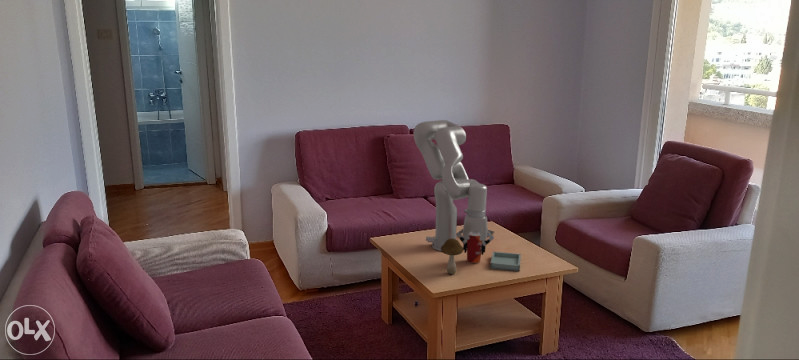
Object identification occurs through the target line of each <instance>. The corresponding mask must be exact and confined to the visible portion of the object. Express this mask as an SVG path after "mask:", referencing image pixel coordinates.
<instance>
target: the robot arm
mask: <svg viewBox="0 0 799 360" xmlns="http://www.w3.org/2000/svg"><path fill="white" fill-rule="evenodd" d="M413 139H414V143H415V145H416V148H418V150H419V151H420V154H421V155H422V157H423V160H424V162H425V165H426V168H427V170H428V172H429V175H430V176H431V178H432V180H437V181H438V182H437V183H435V185H434V188H433V192H434V194H433V195H434V200H435V233H434V234H435V235H434V236H426V237H425V241H426V242H427V243H431V247H432V249H433V250H435V251H440V252H442V251H441V246H442V245H444V243H445V242H446V241H447V240H448V239H451V238H453V239H456V240H457V238H458V239H459V240H460V242H461V243H462V244H463V245H462V247H463V249H464V250H463V252H464V254H467V239H470V238H469V233H470V232H472V233H473V232H476V233H477V232H479V233H480V235H481V236H480V239H479V240H480V241H482V243H483V244H482V251H481V256H482V255H484V253H486V246H487V245H488V244H489V243H490V242H492V241H493V240H494V239H495V238H494V235H493V234H491V233H490V232H489V231H488V230H489V229H488V228H489V227H488V217H487V215H486V212H487V211H486V210H487V209H486V208H487V196H488V195H487V194H488V187H487V185H485V184H483V183H480V182H479V181H477V180H476V179H473V178H470V179H469V176H468V174H467V171H466V169H465V167H464V164H463V163H462V161H463V159H464V155H463V152H462V150H461V148H460V146H461V145H463V144H465V142H466V140H467V134H466V131H465V130H464V128H462V126H460V125H459V124H456V123H454V122H453V121H450V120H445V119H442V120H440V119H439V120H428V121H423V122H420V123H419V122H418V123H417V124H416V125H415V126H414V129H413ZM432 140H435V142H436V143H435V142H433V141H432ZM439 180H440V181H439ZM466 198H467V208H465V209H464V210H463V212H464V213H466V215H465V217H464V220H463V227H462V229H460V230H459V231H457V227H458V226H457V222H458V209H457V206H456V205H455V203H454V201H456V200H462V199H466ZM477 234H478V233H477ZM487 235H488V237H487Z"/></svg>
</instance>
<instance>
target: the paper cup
mask: <svg viewBox="0 0 799 360" xmlns="http://www.w3.org/2000/svg"><path fill="white" fill-rule="evenodd" d="M477 233H478V234H477ZM477 233H476V232H473V233H472V232H470V233H469V238H470V239H467V251H466V261H467V262H468V263H472V264H477V263H480V262H481V258H482V254H481V252H482V244H483V243H482V241H480V240H479V239H480V236H481V235H480V233H479V232H477Z"/></svg>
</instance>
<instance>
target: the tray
mask: <svg viewBox="0 0 799 360" xmlns="http://www.w3.org/2000/svg"><path fill="white" fill-rule="evenodd" d="M521 259H522V254H521V253H516V252H515V253H513V252H503V251H502V252H501V251H492V255H491V258H490V262H489V263H490V266H489V269H490V270H500V271H511V272H513V271H514V272H520V271H521V270H520V269H521V261H522V260H521Z"/></svg>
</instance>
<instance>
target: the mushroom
mask: <svg viewBox="0 0 799 360" xmlns="http://www.w3.org/2000/svg"><path fill="white" fill-rule="evenodd" d="M440 252H442V253H443V254H445V255H447V256H449V259H448V262H447V265H446V272H447V274H449V275H454V274H456V273H457V266H456V265H457V264H456V260H455V256H458V255H462V253H463V252H464V249H463V245H461V243H460V241H459V240H458V239H457V238H456V239H453V238H451V239H448V240H447V241H446V242H445V243H444V245H442V246H441V251H440Z"/></svg>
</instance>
